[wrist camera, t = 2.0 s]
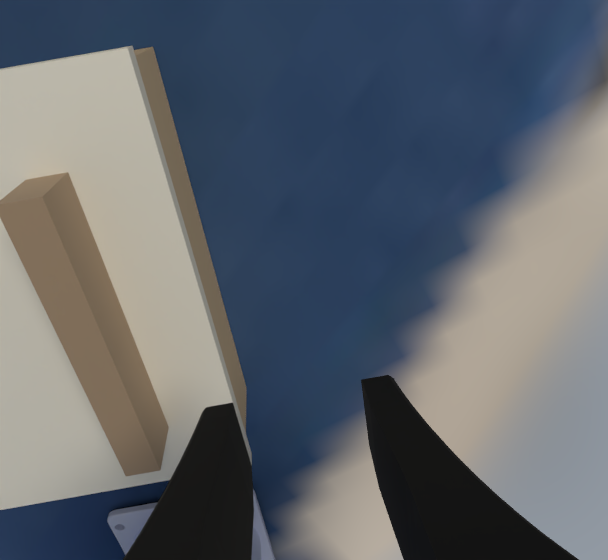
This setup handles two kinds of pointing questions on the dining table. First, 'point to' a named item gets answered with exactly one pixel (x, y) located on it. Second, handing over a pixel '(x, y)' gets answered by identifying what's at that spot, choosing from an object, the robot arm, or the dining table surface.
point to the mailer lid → (94, 288)
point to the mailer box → (191, 218)
